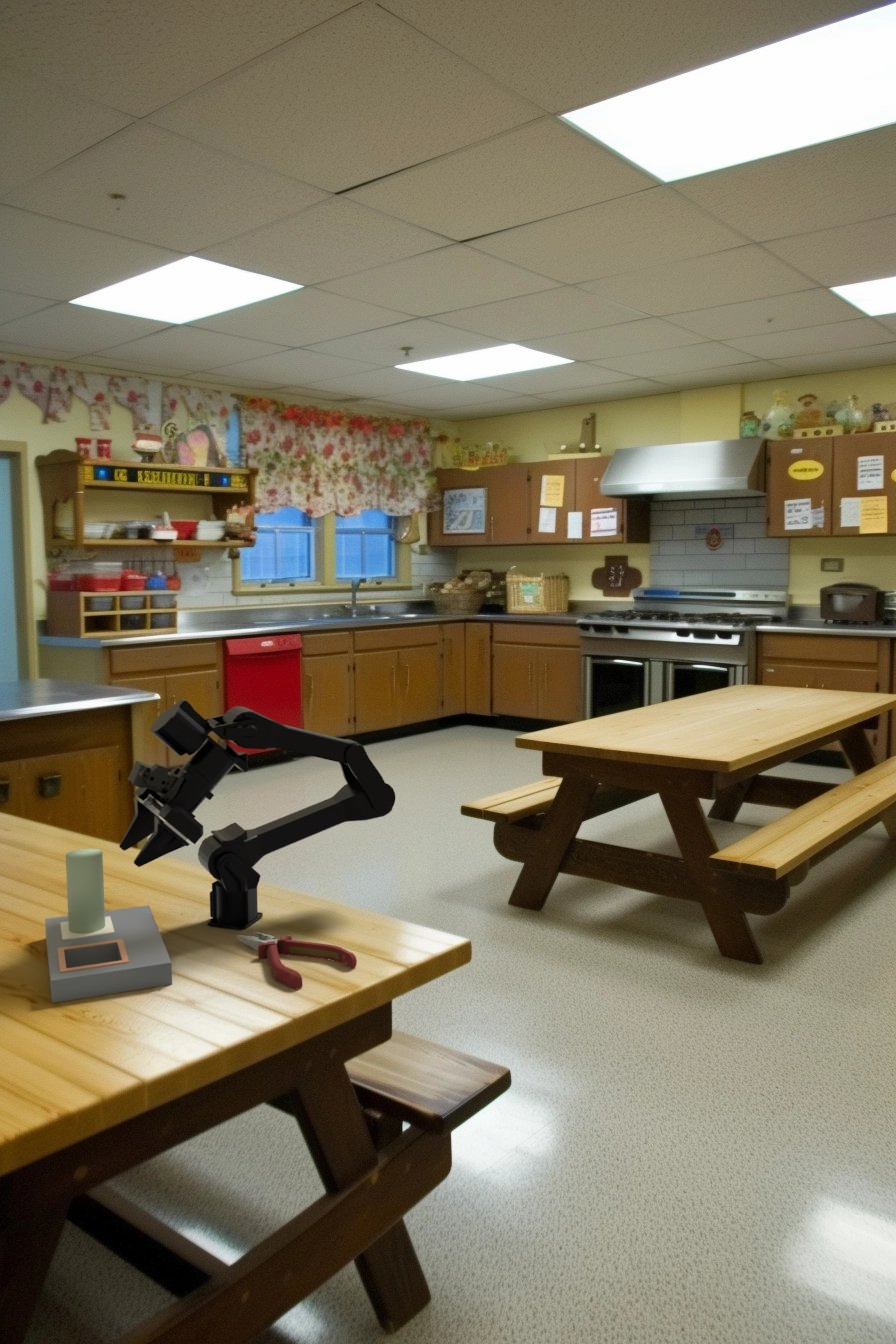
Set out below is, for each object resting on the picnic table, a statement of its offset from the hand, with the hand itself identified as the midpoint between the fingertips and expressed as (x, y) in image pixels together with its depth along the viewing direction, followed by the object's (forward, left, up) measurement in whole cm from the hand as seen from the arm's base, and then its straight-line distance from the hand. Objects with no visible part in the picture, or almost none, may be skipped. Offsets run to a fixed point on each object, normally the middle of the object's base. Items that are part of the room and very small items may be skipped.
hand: (128, 856), depth 150 cm
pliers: (-26, -2, -13) cm, 30 cm away
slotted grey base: (-1, +7, -13) cm, 15 cm away
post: (+4, +5, -10) cm, 11 cm away
